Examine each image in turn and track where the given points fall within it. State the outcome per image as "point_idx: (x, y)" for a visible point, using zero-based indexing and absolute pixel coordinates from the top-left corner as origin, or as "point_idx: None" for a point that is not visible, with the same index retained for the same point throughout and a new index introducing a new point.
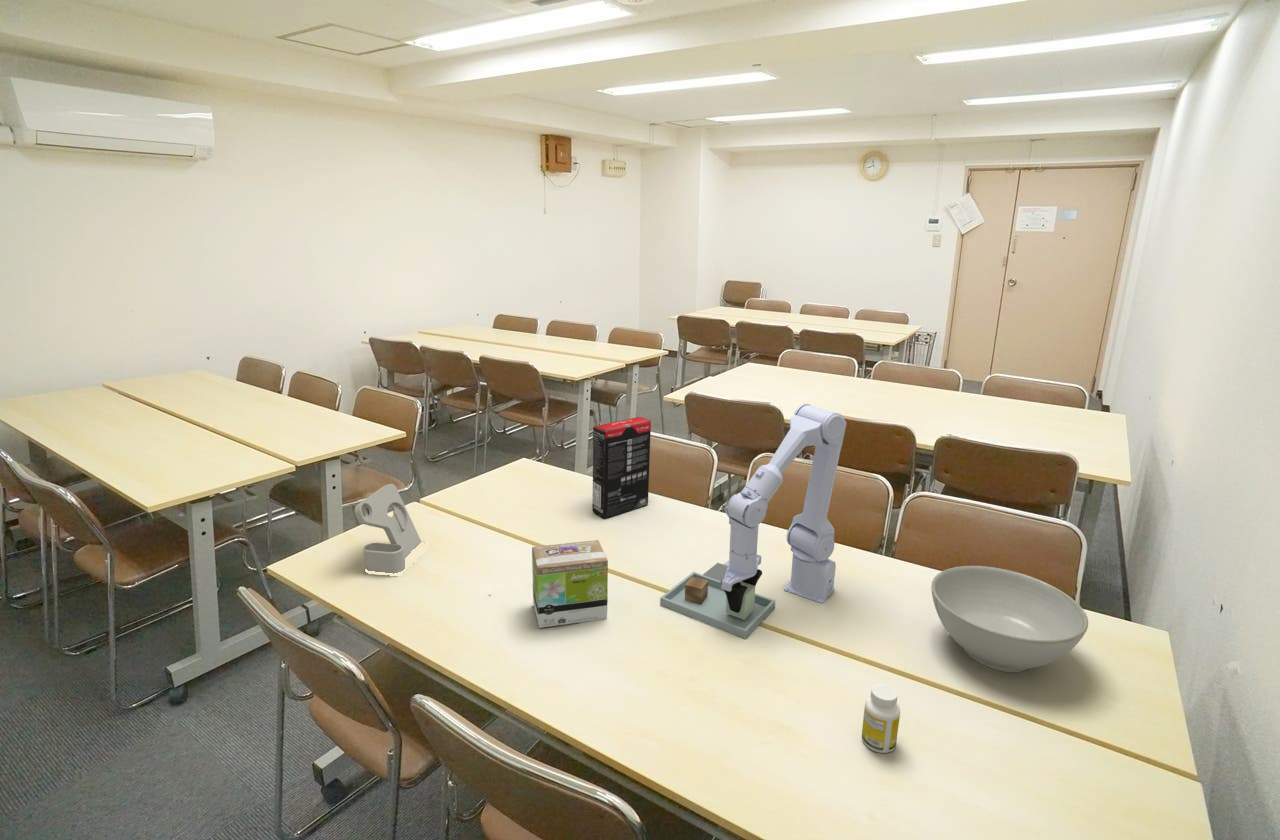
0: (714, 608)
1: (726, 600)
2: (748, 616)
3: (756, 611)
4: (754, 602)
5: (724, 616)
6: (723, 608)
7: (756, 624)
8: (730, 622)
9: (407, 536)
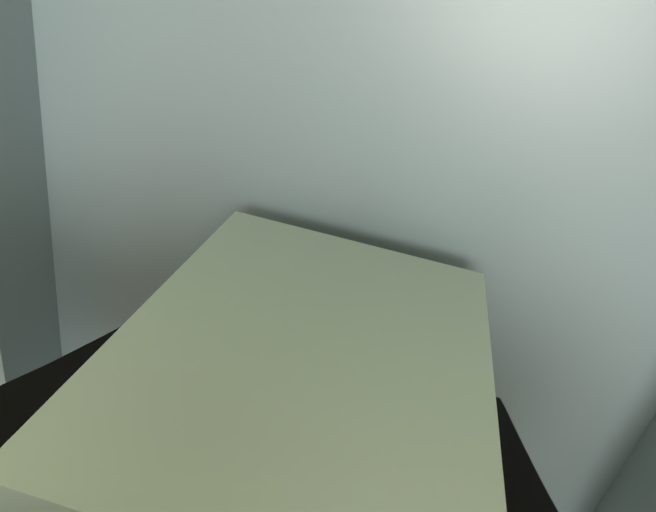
0: (330, 20)
1: (149, 299)
2: None
3: None
4: (639, 421)
5: (227, 190)
6: (380, 134)
7: None
8: (167, 268)
9: None
